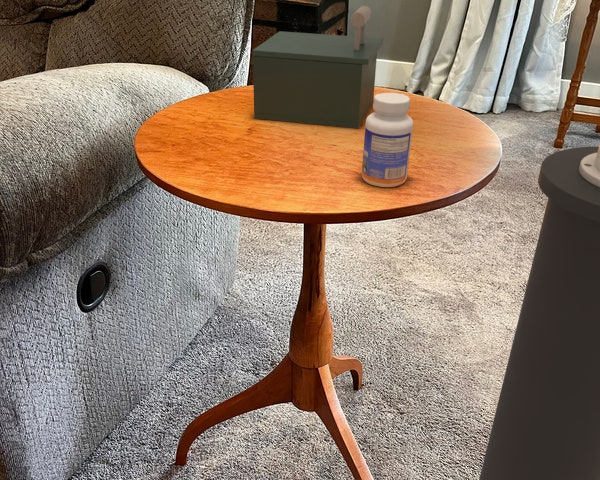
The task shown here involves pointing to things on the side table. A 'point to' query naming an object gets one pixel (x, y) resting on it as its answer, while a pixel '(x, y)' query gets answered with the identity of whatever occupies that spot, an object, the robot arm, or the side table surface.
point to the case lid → (325, 44)
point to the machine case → (313, 91)
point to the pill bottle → (387, 141)
